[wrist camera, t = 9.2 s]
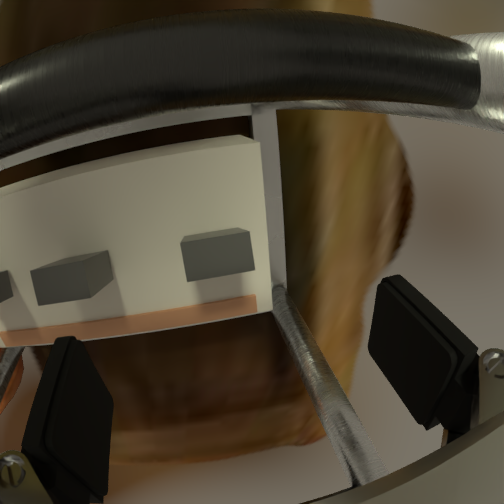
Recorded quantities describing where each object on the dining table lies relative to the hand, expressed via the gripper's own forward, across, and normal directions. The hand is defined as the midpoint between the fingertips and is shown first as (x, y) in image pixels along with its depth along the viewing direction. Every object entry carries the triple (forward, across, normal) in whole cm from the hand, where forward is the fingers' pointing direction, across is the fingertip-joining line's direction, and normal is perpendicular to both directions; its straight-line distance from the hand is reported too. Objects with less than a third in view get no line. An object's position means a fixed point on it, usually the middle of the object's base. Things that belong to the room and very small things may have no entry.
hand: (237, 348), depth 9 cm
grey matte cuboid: (+8, 0, 0) cm, 8 cm away
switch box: (+15, +7, 0) cm, 16 cm away
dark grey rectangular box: (+8, +7, 0) cm, 11 cm away
